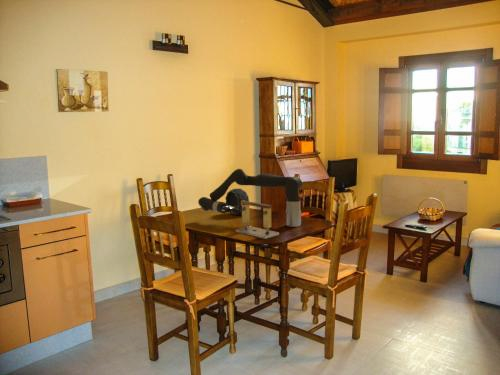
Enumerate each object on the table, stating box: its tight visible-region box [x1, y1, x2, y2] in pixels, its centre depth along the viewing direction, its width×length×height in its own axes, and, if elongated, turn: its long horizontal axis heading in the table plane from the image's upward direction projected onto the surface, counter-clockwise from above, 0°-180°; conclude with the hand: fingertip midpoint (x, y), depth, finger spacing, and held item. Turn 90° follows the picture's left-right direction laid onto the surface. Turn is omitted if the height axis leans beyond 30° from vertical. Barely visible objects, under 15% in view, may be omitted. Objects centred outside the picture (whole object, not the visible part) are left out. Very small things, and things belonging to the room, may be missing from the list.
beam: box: [241, 200, 272, 209], centre depth 297 cm, size 3×24×2 cm, turn 46°
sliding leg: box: [241, 204, 251, 229], centre depth 304 cm, size 5×4×16 cm
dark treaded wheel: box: [225, 188, 250, 216], centre depth 355 cm, size 11×20×20 cm, turn 35°
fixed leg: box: [262, 208, 272, 233], centre depth 291 cm, size 5×4×16 cm
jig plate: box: [235, 225, 280, 240], centre depth 299 cm, size 13×26×2 cm, turn 46°
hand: (237, 210), depth 309 cm, fingers closed
